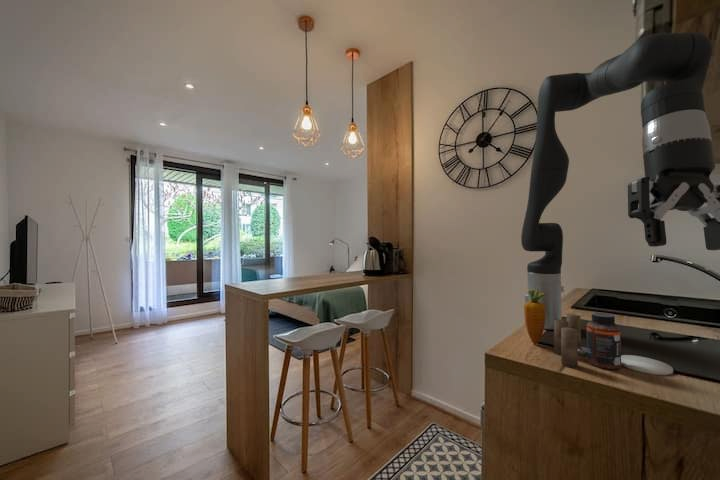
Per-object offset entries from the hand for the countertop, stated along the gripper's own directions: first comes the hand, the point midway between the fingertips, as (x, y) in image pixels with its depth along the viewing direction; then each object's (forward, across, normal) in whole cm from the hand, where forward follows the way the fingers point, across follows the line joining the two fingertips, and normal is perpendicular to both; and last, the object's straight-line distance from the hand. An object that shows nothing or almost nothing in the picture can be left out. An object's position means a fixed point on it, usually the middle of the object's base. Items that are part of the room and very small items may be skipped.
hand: (686, 247), depth 44 cm
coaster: (+22, -14, -26) cm, 36 cm away
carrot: (+21, +2, -39) cm, 44 cm away
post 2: (+20, -7, -38) cm, 43 cm away
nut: (+21, -6, -33) cm, 40 cm away
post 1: (+22, -1, -32) cm, 39 cm away
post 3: (+23, +2, -26) cm, 35 cm away
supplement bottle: (+22, -6, -26) cm, 35 cm away
